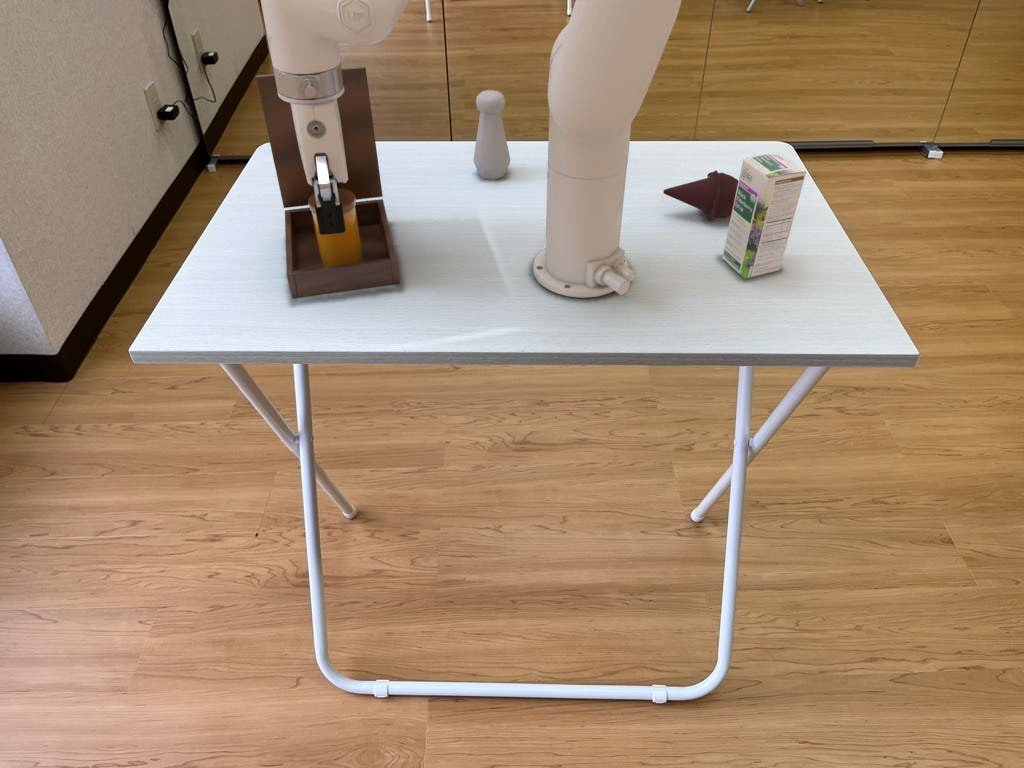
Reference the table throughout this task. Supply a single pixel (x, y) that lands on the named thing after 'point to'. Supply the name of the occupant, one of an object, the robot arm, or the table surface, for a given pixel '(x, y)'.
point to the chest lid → (354, 133)
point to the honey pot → (340, 234)
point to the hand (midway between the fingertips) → (330, 213)
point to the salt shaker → (491, 136)
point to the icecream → (708, 194)
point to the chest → (369, 273)
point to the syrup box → (762, 214)
